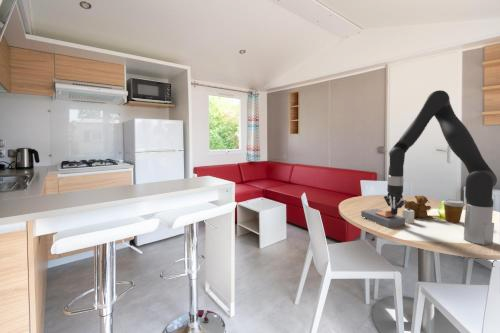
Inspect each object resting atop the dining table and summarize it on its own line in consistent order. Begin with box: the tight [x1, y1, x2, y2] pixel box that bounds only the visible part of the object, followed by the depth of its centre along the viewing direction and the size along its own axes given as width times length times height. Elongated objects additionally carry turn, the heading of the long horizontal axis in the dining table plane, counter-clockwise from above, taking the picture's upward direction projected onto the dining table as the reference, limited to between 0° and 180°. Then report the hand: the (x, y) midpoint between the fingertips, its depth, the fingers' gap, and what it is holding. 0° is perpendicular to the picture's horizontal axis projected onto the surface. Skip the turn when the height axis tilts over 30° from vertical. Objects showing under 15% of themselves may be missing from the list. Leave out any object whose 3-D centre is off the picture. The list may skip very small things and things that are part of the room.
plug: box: [402, 208, 415, 224], centre depth 144 cm, size 4×4×8 cm
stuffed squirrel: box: [403, 195, 434, 220], centre depth 152 cm, size 10×14×13 cm
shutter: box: [375, 209, 396, 217], centre depth 145 cm, size 8×7×4 cm
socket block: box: [360, 208, 406, 229], centre depth 147 cm, size 20×12×4 cm, turn 18°
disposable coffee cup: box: [442, 198, 466, 224], centre depth 143 cm, size 10×10×12 cm
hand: (394, 214), depth 139 cm, fingers closed
